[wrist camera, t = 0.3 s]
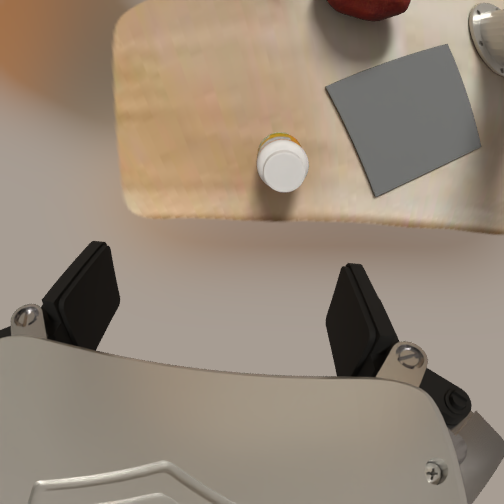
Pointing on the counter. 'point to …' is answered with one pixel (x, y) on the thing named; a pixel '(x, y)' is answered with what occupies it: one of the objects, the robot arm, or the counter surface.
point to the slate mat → (407, 116)
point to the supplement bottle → (282, 162)
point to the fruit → (370, 8)
